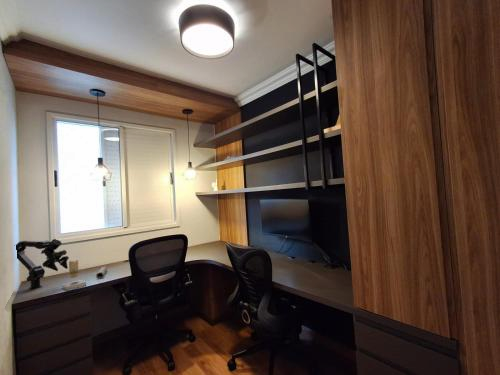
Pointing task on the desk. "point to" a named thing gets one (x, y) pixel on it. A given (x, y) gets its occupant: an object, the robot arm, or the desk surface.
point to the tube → (101, 272)
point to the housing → (73, 284)
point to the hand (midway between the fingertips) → (62, 269)
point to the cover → (73, 268)
